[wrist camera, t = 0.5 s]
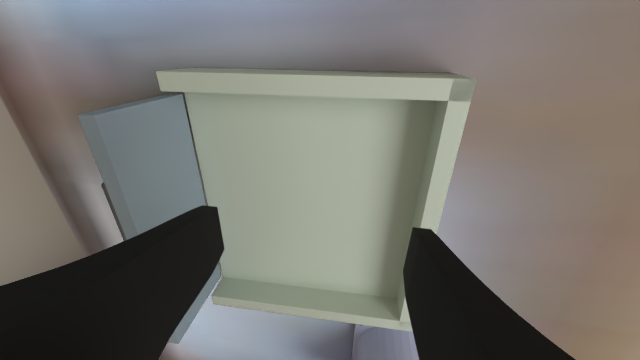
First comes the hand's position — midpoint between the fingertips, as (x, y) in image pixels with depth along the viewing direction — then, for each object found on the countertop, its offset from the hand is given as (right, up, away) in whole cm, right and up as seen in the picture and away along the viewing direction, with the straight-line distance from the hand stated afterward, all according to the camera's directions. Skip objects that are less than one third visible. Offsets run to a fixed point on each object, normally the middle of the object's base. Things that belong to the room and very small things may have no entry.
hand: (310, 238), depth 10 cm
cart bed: (0, +1, +10) cm, 10 cm away
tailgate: (-8, +1, +10) cm, 13 cm away
